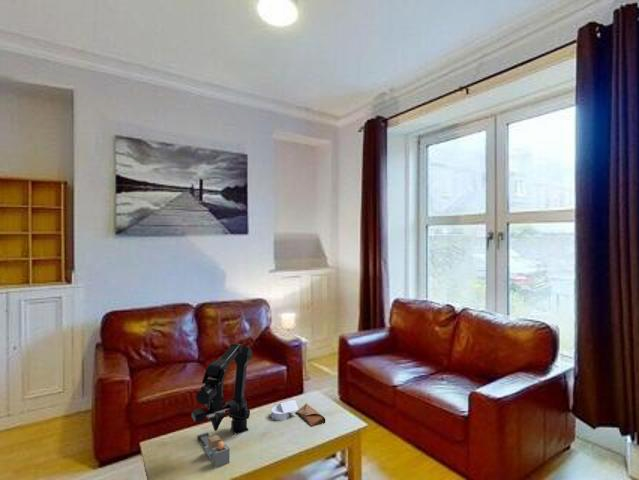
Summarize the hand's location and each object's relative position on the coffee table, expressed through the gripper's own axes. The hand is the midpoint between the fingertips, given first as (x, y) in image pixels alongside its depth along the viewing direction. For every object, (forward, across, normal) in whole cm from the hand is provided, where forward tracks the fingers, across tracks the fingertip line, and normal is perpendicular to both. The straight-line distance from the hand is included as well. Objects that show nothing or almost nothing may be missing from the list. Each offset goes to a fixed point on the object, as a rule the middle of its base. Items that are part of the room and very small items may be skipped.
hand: (215, 430), depth 157 cm
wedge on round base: (+11, -42, -15) cm, 46 cm away
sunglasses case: (+12, -52, -5) cm, 53 cm away
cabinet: (+11, 0, +6) cm, 12 cm away
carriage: (+11, 0, -2) cm, 11 cm away
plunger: (+6, 0, +6) cm, 8 cm away
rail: (+11, 0, -7) cm, 13 cm away
